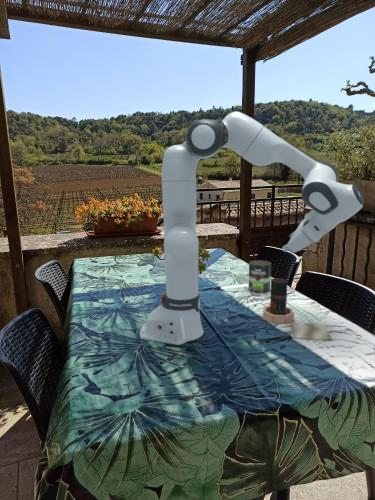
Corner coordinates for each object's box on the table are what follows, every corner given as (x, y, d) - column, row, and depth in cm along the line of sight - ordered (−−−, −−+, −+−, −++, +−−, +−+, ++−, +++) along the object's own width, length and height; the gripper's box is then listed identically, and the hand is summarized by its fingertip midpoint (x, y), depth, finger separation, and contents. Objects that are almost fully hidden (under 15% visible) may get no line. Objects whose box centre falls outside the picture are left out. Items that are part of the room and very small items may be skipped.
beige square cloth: (294, 338, 114) (294, 337, 114) (290, 323, 126) (290, 322, 126) (332, 340, 112) (332, 339, 112) (324, 325, 124) (324, 323, 124)
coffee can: (268, 296, 155) (269, 266, 152) (246, 293, 159) (246, 264, 156) (272, 289, 164) (272, 260, 161) (250, 287, 168) (251, 259, 165)
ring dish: (264, 322, 127) (264, 315, 126) (262, 311, 138) (262, 304, 137) (294, 324, 125) (294, 316, 125) (290, 312, 136) (291, 305, 135)
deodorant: (286, 321, 128) (287, 283, 125) (270, 320, 129) (271, 282, 126) (285, 315, 134) (286, 278, 130) (269, 314, 135) (270, 277, 132)
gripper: (318, 203, 121) (289, 224, 131) (303, 228, 107) (272, 250, 116) (330, 216, 121) (300, 236, 131) (317, 243, 107) (285, 263, 116)
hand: (287, 243), depth 124 cm, fingers open, 8 cm apart
